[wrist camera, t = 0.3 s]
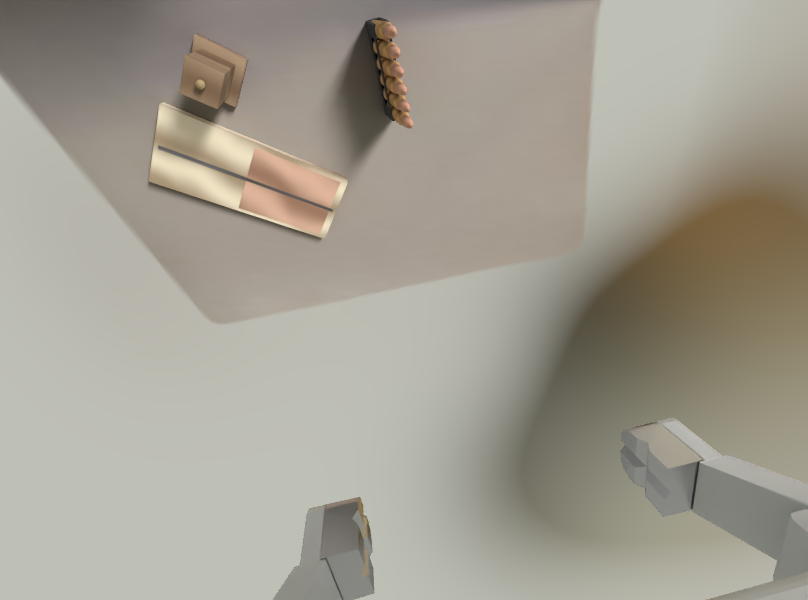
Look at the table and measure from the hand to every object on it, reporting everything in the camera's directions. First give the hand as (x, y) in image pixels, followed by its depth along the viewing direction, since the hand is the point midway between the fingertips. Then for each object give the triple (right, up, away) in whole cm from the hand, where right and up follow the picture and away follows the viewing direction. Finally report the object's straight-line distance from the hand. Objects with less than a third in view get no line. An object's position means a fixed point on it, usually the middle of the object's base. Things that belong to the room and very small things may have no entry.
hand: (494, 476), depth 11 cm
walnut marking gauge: (-25, +33, +33) cm, 53 cm away
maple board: (-24, +23, +41) cm, 53 cm away
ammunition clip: (-5, +35, +37) cm, 52 cm away
